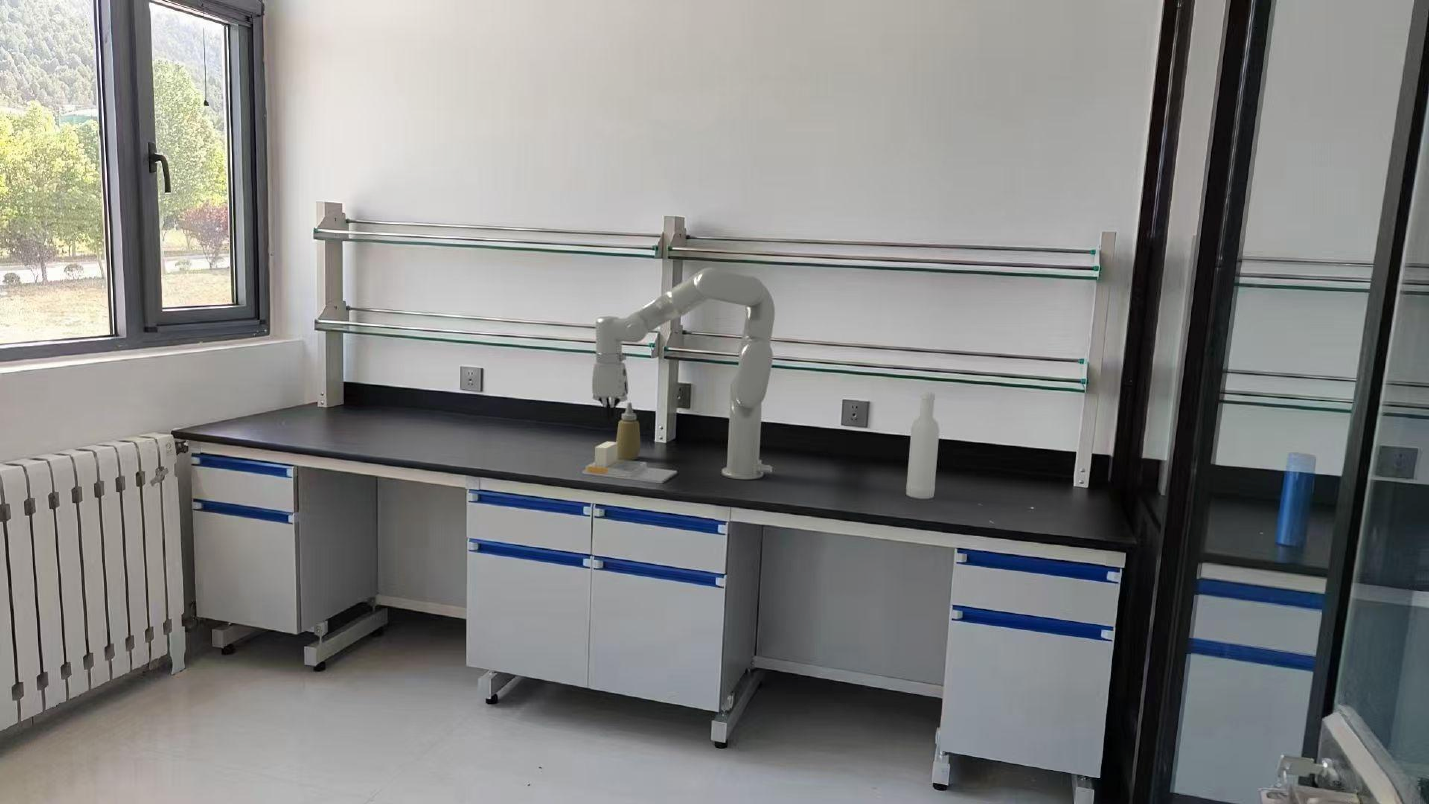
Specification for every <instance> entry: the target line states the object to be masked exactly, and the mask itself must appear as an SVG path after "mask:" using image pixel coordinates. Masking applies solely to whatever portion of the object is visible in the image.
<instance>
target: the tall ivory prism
mask: <svg viewBox="0 0 1429 804" xmlns="http://www.w3.org/2000/svg"><path fill="white" fill-rule="evenodd" d="M617 452H618V443H617V442H616V441H608V440H607V441H605V442H603V443H601V444H599V445H597V446H595V447H594V462H595V467H603V468H609V467H611V466H613V465H615V464H617V459H618V454H617Z"/></svg>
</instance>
